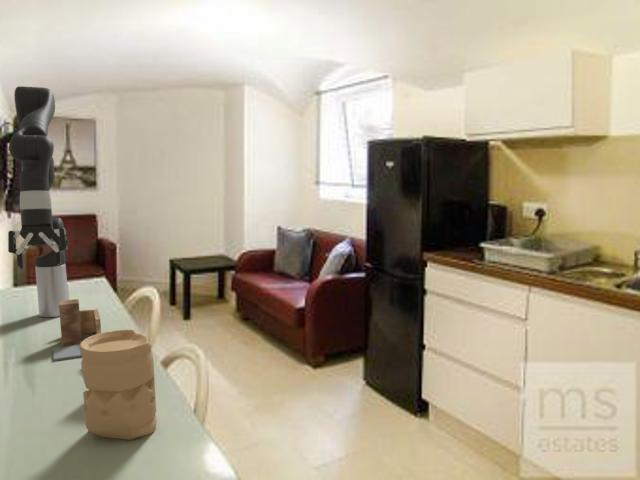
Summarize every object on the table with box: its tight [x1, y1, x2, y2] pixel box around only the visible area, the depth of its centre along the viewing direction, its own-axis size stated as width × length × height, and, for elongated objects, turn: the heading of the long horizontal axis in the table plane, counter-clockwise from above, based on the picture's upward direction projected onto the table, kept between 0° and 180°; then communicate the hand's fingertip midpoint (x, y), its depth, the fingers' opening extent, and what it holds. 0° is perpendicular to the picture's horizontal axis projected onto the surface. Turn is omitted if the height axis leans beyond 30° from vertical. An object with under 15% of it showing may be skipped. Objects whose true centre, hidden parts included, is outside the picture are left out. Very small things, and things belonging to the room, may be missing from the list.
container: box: [79, 328, 157, 441], centre depth 97 cm, size 13×13×18 cm
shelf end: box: [79, 308, 102, 335], centre depth 151 cm, size 9×13×7 cm
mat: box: [53, 344, 83, 362], centre depth 140 cm, size 9×9×1 cm
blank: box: [59, 298, 83, 347], centre depth 147 cm, size 5×5×12 cm
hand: (40, 267), depth 142 cm, fingers open, 8 cm apart
